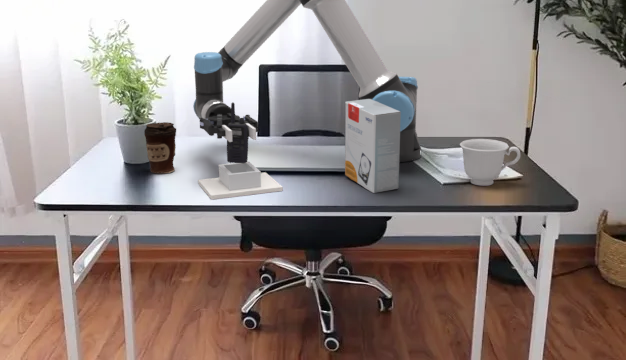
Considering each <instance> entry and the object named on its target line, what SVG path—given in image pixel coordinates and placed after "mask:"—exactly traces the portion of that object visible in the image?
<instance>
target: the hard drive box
mask: <svg viewBox="0 0 626 360" xmlns="http://www.w3.org/2000/svg"><path fill="white" fill-rule="evenodd" d="M344 104H345V105H344V107H345V111H344V114H345V117H344V118H345V119H344V120H345V121H344V123H345V125H344V127H345V128H344V130H345V131H344V132H345V133H344V134H345V135H344V137H345V138H344V140H345V142H344V153H345V154H344V169H345V170H344V175H345V176H346V177H348V178H349V179H350V180H351V181H354V182H355V183H357V184H359V185H360V186H362V187H363V188H364V189H366V190H368V191H369V192H370V193H373V194H376V193H381V192H387V191H393V190H397V189H399V184H400V183H399V179H400V162H399V153H400V120H401V112H400V111H398V110H395V109H393V108H391V107H388V106H386V105H383V104H381V103H379V102H376V101H374V100H372V99H363V100H361V99H356V100H348V101H347V100H346V101H345V102H344Z"/></svg>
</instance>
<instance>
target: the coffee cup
mask: <svg viewBox="0 0 626 360" xmlns="http://www.w3.org/2000/svg"><path fill="white" fill-rule="evenodd" d="M174 125H175V123H172V122H168V121H167V122H155V123H154V122H153V123H148V124H146V127H145V129H144V132H143V133H144V137H145V142H146V143H145V146H146V153H147V159H148V161H149V168H150V172H151V173H154V174H170V173H173V172H175V169H176V168H175V167H174V159H175V156H176V136H177V128H176V127H175V126H174Z"/></svg>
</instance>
